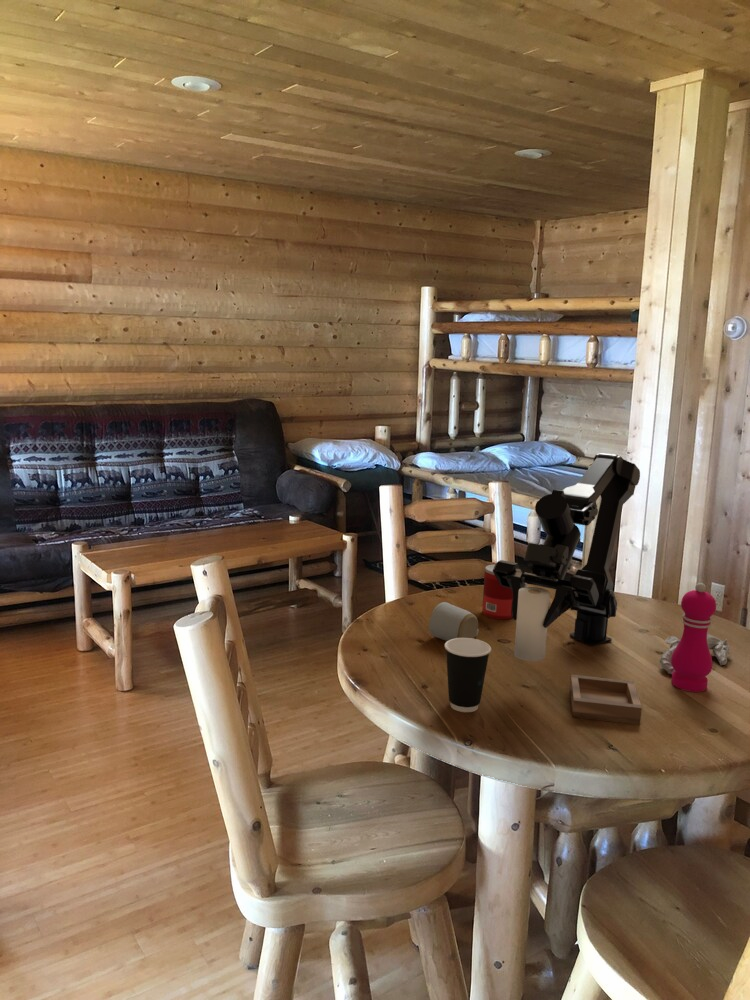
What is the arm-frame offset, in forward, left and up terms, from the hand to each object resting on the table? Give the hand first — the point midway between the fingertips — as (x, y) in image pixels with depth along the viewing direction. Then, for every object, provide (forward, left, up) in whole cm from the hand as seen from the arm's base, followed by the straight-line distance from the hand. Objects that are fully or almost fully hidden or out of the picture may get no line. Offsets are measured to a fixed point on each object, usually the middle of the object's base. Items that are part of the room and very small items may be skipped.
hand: (528, 622), depth 141 cm
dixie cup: (+13, -1, -14) cm, 19 cm away
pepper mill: (-31, +11, -14) cm, 36 cm away
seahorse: (-41, +4, -14) cm, 43 cm away
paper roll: (-1, -1, -7) cm, 7 cm away
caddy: (-9, +10, -13) cm, 19 cm away
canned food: (-23, -36, -14) cm, 45 cm away
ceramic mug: (-5, -27, -14) cm, 31 cm away
